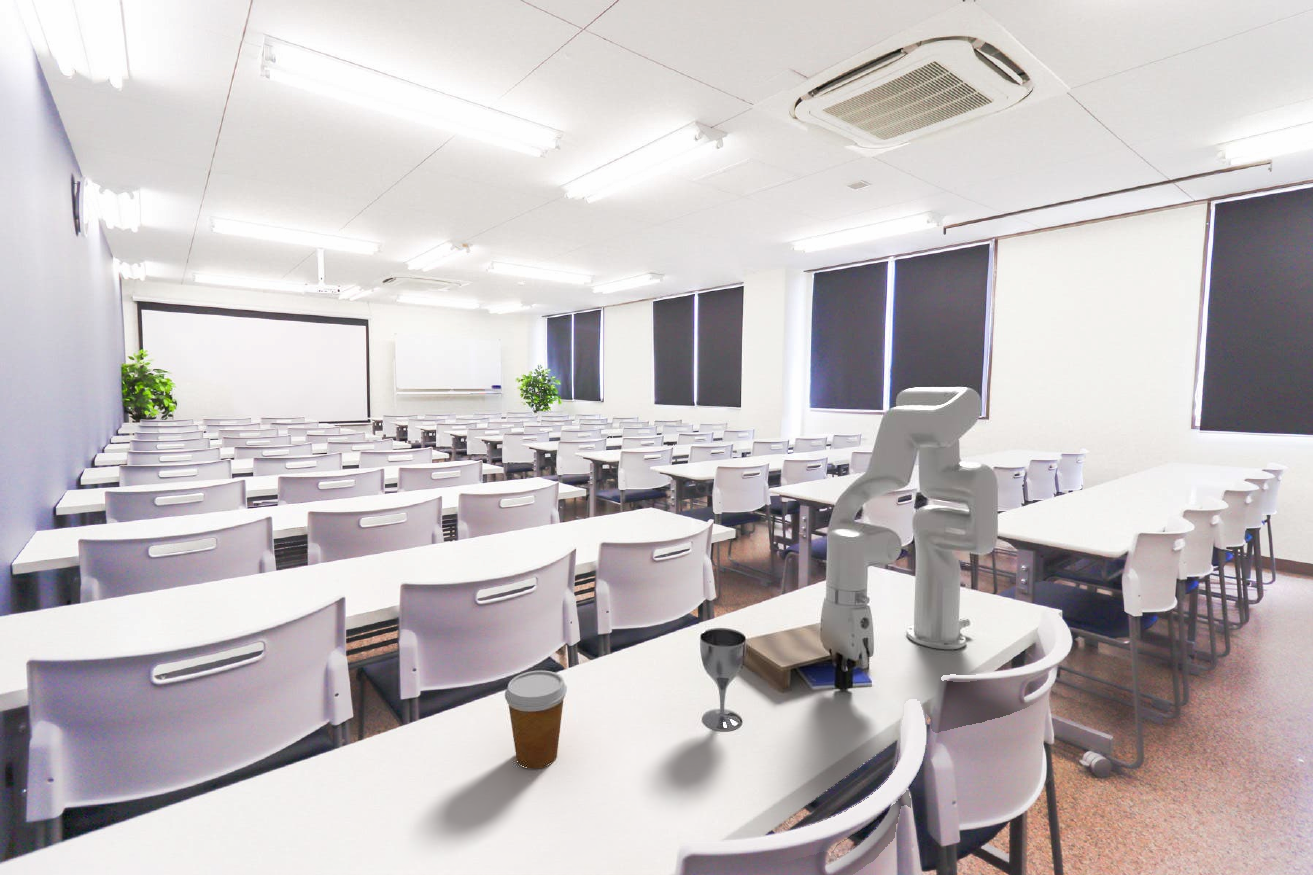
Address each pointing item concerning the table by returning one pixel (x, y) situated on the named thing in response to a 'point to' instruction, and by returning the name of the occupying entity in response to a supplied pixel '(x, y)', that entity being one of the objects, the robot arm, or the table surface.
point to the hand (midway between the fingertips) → (843, 687)
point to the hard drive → (829, 676)
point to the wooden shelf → (785, 654)
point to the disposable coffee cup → (536, 716)
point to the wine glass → (722, 671)
